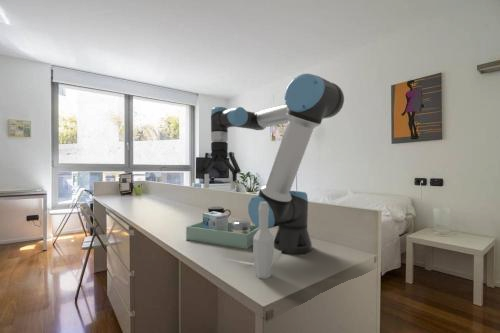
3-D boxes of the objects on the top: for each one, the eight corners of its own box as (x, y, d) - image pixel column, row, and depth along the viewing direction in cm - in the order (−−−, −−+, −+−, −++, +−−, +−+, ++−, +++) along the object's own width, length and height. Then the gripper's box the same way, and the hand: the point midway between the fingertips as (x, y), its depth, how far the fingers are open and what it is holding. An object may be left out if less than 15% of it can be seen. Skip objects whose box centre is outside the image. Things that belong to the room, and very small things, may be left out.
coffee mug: (205, 227, 135) (205, 208, 135) (210, 223, 144) (211, 206, 144) (227, 228, 133) (227, 209, 133) (231, 224, 142) (231, 206, 142)
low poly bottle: (250, 271, 79) (251, 201, 79) (270, 270, 81) (270, 200, 81) (255, 280, 73) (256, 204, 73) (276, 278, 74) (277, 203, 74)
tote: (262, 239, 114) (262, 226, 114) (247, 250, 100) (247, 234, 99) (206, 231, 126) (206, 219, 126) (186, 240, 112) (186, 226, 112)
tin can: (253, 239, 111) (253, 221, 111) (244, 244, 104) (245, 225, 104) (236, 237, 115) (236, 219, 115) (227, 242, 107) (227, 223, 107)
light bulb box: (202, 236, 116) (202, 212, 116) (214, 233, 121) (214, 210, 121) (216, 241, 109) (216, 216, 109) (228, 238, 113) (228, 214, 113)
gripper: (247, 141, 115) (247, 188, 115) (201, 143, 125) (201, 187, 125) (240, 139, 108) (240, 189, 108) (191, 142, 118) (191, 188, 118)
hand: (219, 188), depth 116 cm, fingers open, 13 cm apart
